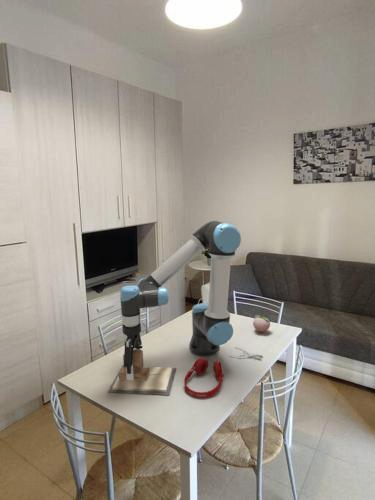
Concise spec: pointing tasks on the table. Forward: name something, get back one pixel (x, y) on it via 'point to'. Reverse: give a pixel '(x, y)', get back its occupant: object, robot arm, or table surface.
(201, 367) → the headphones
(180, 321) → the table surface
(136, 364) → the stepped wooden block
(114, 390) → the board
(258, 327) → the decorative fruit
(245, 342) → the table surface
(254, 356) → the pliers
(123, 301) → the robot arm
